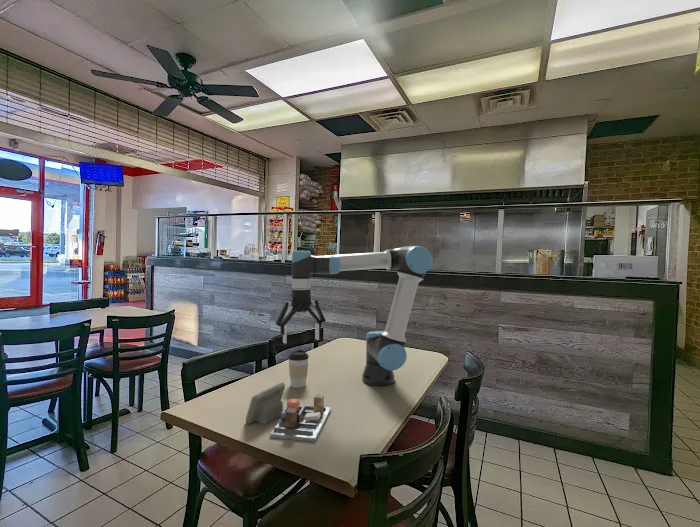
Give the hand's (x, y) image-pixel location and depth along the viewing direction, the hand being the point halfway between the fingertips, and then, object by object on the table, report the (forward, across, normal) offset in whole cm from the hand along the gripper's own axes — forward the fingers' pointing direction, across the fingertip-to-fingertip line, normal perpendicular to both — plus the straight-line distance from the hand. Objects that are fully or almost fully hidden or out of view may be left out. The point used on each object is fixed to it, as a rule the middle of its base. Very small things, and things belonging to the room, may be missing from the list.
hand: (301, 341), depth 138 cm
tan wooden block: (+22, -2, +16) cm, 28 cm away
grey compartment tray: (+24, +5, +19) cm, 31 cm away
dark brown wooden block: (+22, +11, +24) cm, 34 cm away
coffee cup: (+24, -3, -15) cm, 28 cm away
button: (+19, +8, +17) cm, 27 cm away
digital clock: (+24, +16, +9) cm, 30 cm away
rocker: (+21, +2, +21) cm, 30 cm away
